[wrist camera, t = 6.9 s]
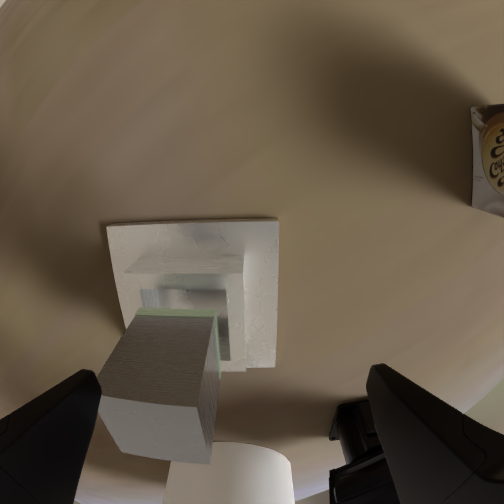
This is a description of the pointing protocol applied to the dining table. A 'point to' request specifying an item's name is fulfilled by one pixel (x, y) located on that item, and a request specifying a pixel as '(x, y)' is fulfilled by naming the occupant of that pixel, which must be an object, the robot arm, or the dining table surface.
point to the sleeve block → (205, 278)
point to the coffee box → (488, 158)
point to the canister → (232, 477)
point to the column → (164, 385)
